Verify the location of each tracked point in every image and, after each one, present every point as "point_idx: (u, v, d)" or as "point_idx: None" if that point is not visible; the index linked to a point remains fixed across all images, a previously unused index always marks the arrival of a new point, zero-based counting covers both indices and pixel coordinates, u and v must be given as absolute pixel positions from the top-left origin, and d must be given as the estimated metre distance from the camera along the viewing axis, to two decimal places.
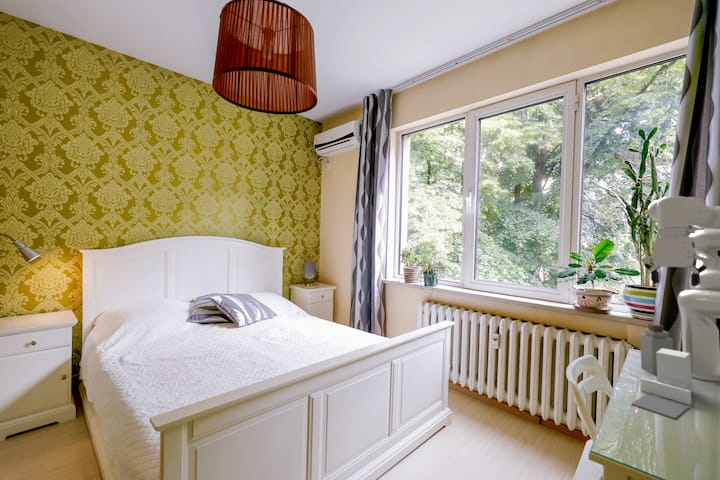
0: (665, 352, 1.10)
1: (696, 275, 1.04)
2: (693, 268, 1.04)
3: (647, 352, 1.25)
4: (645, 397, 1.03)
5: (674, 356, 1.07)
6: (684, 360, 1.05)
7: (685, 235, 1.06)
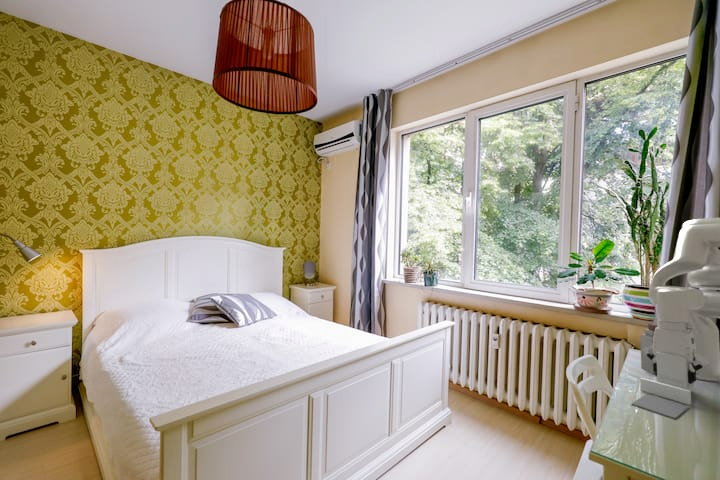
0: None
1: (692, 373, 1.05)
2: (690, 366, 1.05)
3: None
4: (645, 397, 1.03)
5: (674, 356, 1.07)
6: (684, 360, 1.05)
7: (684, 331, 1.06)
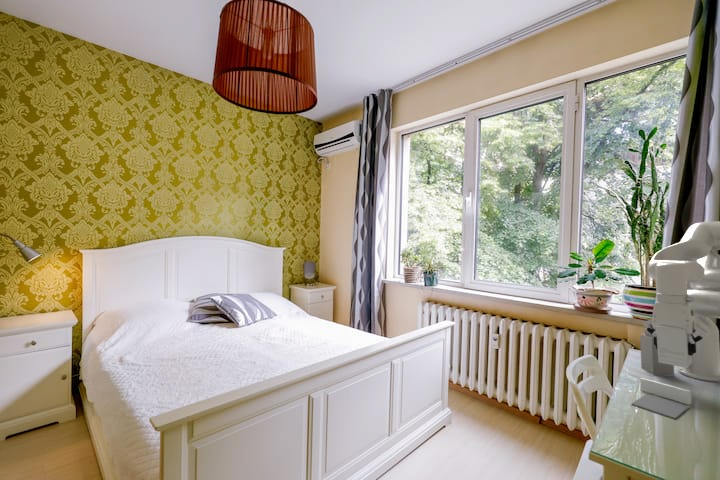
0: None
1: (692, 345, 1.05)
2: (690, 338, 1.05)
3: (647, 352, 1.25)
4: (645, 397, 1.03)
5: (674, 329, 1.07)
6: (684, 332, 1.05)
7: (684, 303, 1.06)
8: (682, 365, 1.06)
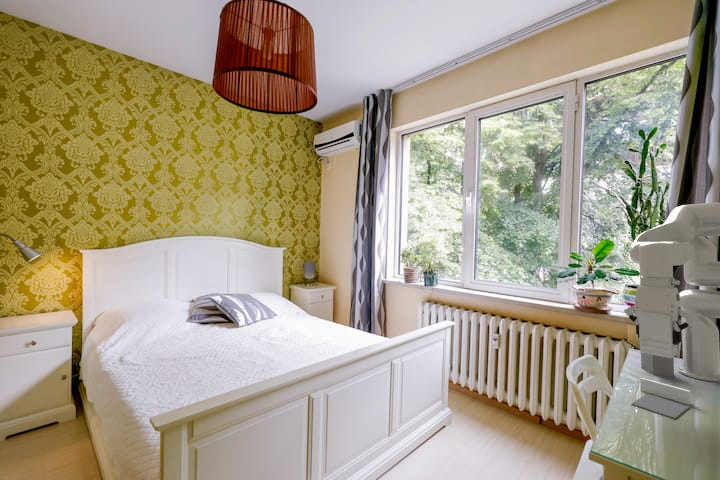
0: None
1: (677, 333, 0.95)
2: (675, 325, 0.95)
3: None
4: (645, 397, 1.03)
5: (657, 315, 0.97)
6: (668, 318, 0.95)
7: (669, 286, 0.96)
8: (666, 355, 0.95)
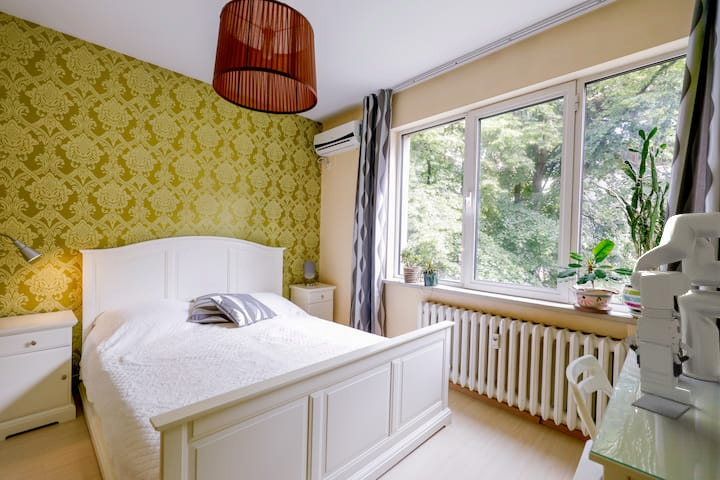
0: None
1: (678, 365, 0.94)
2: (676, 357, 0.94)
3: None
4: (645, 397, 1.03)
5: (658, 346, 0.96)
6: (669, 350, 0.94)
7: (670, 318, 0.95)
8: (666, 387, 0.95)
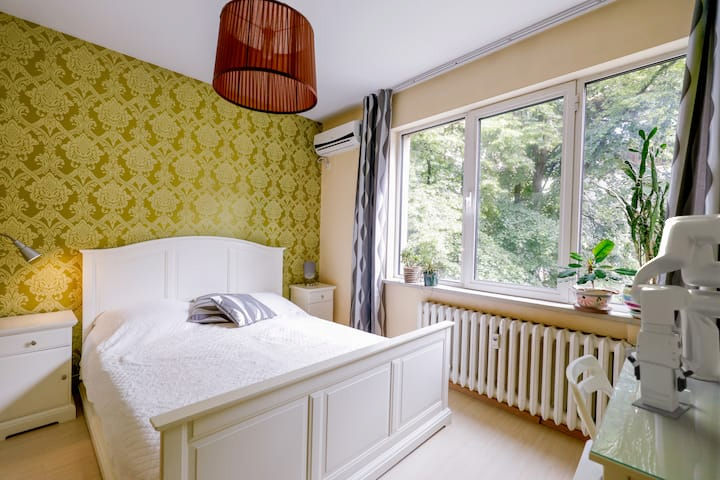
0: None
1: (682, 380, 0.94)
2: (679, 372, 0.94)
3: None
4: None
5: (659, 367, 0.96)
6: (669, 372, 0.94)
7: (670, 334, 0.95)
8: (667, 408, 0.95)
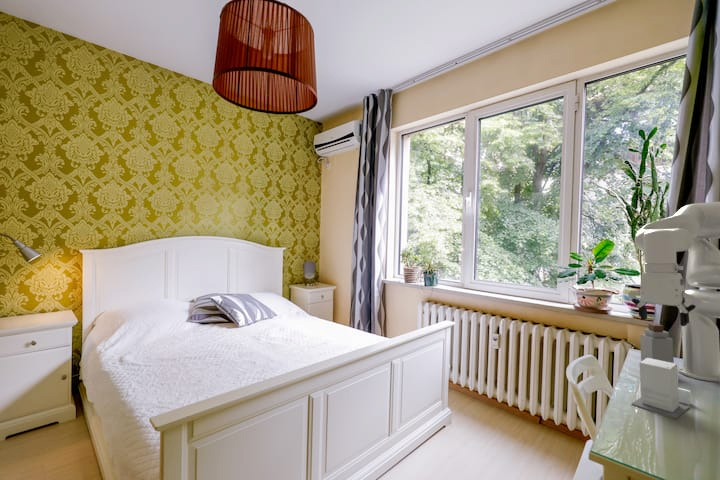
0: (649, 362, 0.99)
1: (685, 314, 0.98)
2: (682, 307, 0.99)
3: (647, 352, 1.25)
4: None
5: (659, 367, 0.96)
6: (669, 372, 0.94)
7: (673, 272, 1.00)
8: (667, 408, 0.95)
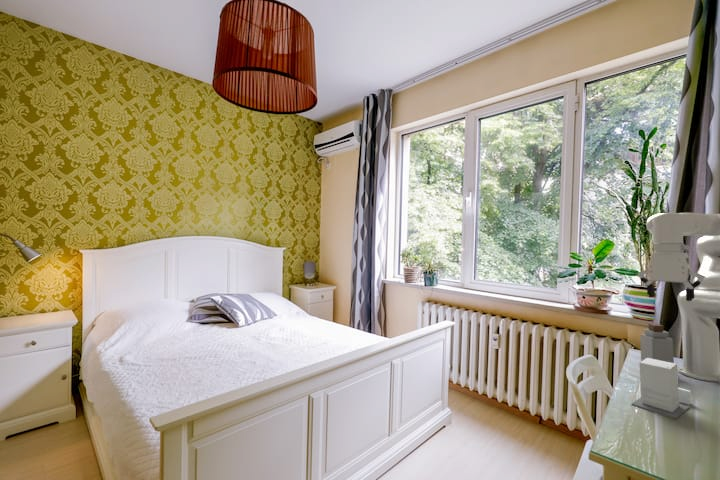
0: (649, 362, 0.99)
1: (691, 290, 1.06)
2: (688, 283, 1.07)
3: (647, 352, 1.25)
4: None
5: (659, 367, 0.96)
6: (669, 372, 0.94)
7: (680, 251, 1.08)
8: (667, 408, 0.95)
